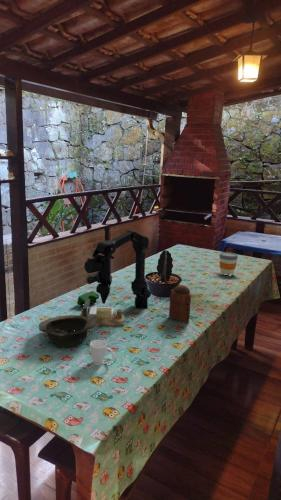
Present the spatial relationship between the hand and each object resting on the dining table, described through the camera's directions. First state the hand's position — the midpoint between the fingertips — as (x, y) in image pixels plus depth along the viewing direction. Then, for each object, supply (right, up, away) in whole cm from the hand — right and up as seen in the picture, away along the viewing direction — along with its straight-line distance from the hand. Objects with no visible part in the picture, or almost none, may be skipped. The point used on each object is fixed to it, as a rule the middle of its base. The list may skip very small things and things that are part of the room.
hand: (104, 299), depth 176 cm
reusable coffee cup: (+80, +6, +87) cm, 118 cm away
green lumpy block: (-11, -6, +23) cm, 26 cm away
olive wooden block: (0, -9, +2) cm, 9 cm away
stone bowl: (-15, -15, -14) cm, 26 cm away
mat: (-3, -8, +14) cm, 17 cm away
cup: (+2, -21, -33) cm, 39 cm away
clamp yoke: (-9, -11, +3) cm, 14 cm away
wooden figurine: (+37, -11, +10) cm, 40 cm away
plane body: (-2, -11, +3) cm, 12 cm away
